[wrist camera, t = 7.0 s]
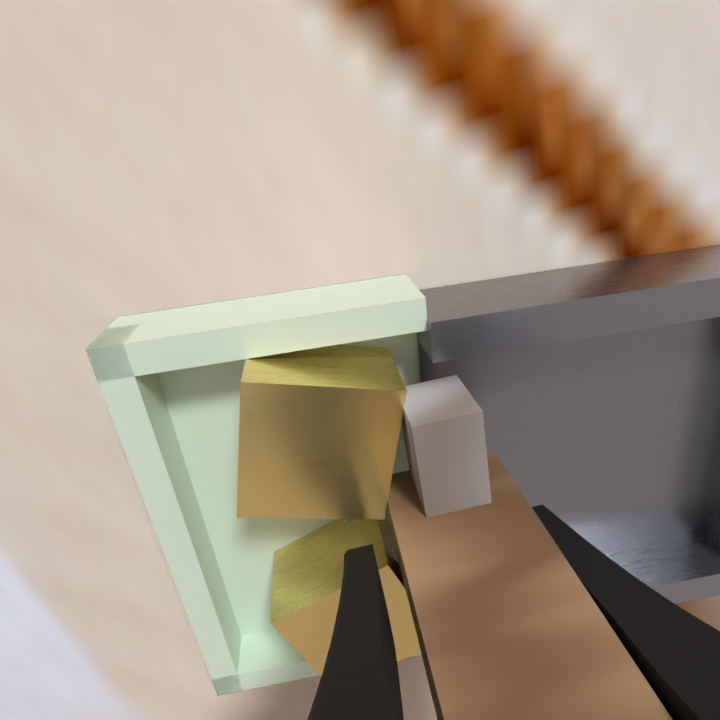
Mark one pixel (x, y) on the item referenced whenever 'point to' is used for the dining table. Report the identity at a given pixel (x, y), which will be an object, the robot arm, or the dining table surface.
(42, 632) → the dining table surface
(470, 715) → the brown block with peg
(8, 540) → the dining table surface
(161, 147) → the dining table surface
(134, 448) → the tray
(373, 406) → the brushed gold cube
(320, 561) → the chip
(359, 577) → the robot arm
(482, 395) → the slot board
